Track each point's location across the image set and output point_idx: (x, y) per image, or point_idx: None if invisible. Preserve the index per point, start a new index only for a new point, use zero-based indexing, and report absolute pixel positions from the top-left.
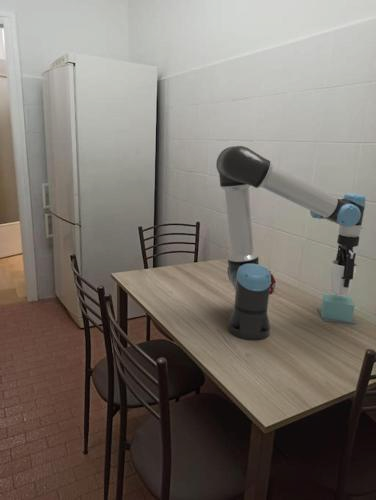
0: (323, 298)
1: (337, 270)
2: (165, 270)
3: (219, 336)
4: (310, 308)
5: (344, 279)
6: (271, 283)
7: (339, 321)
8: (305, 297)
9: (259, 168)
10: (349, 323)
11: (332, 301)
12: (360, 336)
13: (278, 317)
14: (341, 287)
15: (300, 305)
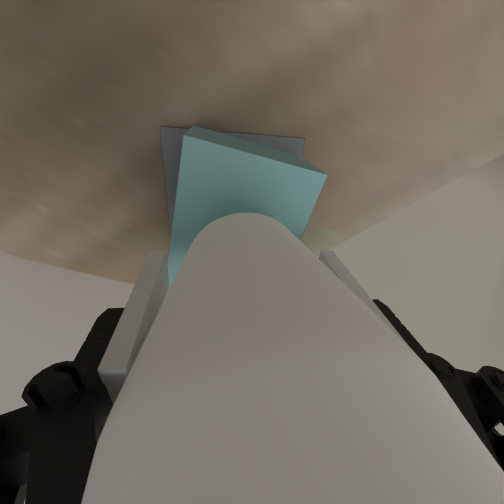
0: (268, 156)
1: (128, 439)
2: None
3: None
4: (311, 100)
5: (108, 372)
6: None
7: (169, 198)
8: (443, 120)
9: None
10: (171, 233)
11: (193, 192)
12: (59, 237)
13: None
14: (135, 287)
15: (352, 45)
